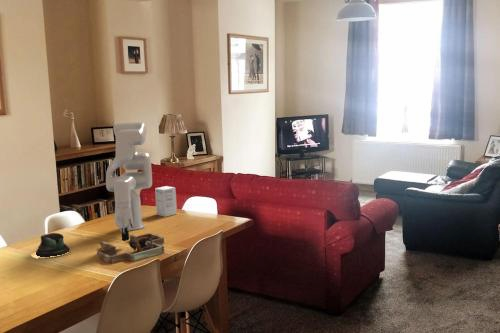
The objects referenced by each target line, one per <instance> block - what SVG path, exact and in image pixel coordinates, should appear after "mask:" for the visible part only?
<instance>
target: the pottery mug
mask: <svg viewBox="0 0 500 333" xmlns="http://www.w3.org/2000/svg"><path fill="white" fill-rule="evenodd" d="M148 240H149V241H150V242H151V244H150V245H146V244H145V243H146V241H148ZM128 246H130V248H131V249H133V251H138V253H139V252H143V251H146V250H150V249H152V248H153V247H154V246H153V244H152V240H151V239H150V238H147V237H141V238H139V239H138V240H137V241H135V240H131V241H130V240H129V243H128Z"/></svg>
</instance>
